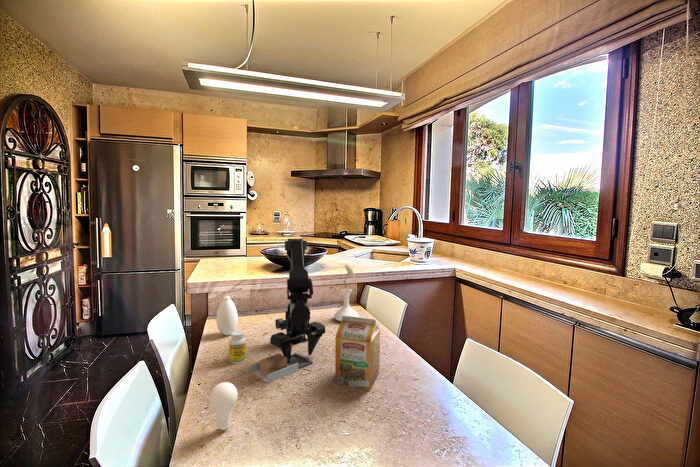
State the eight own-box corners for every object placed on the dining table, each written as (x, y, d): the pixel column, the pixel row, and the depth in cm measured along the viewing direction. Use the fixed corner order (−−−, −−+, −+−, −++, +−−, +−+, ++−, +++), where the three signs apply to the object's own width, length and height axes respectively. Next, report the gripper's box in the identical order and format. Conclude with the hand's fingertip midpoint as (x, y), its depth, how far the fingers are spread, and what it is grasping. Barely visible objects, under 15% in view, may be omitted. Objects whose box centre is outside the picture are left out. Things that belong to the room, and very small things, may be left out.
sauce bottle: (242, 332, 138) (241, 289, 136) (227, 339, 131) (226, 293, 129) (227, 329, 141) (226, 287, 140) (212, 336, 134) (211, 291, 133)
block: (278, 365, 110) (278, 353, 110) (287, 370, 107) (287, 357, 107) (259, 372, 105) (259, 360, 105) (267, 378, 102) (267, 365, 102)
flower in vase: (358, 324, 149) (359, 268, 147) (332, 324, 149) (333, 267, 147) (358, 314, 162) (359, 262, 160) (334, 314, 162) (334, 262, 160)
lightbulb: (214, 421, 82) (213, 377, 81) (240, 420, 82) (240, 376, 82) (206, 438, 76) (205, 391, 75) (234, 437, 76) (233, 390, 75)
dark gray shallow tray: (296, 355, 118) (296, 352, 118) (312, 364, 111) (312, 361, 111) (283, 360, 114) (283, 357, 114) (300, 369, 108) (300, 366, 108)
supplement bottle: (243, 355, 117) (243, 328, 116) (248, 361, 113) (248, 333, 112) (227, 359, 114) (227, 331, 113) (231, 366, 110) (231, 337, 109)
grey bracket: (281, 361, 114) (280, 353, 113) (298, 371, 107) (298, 363, 107) (251, 372, 106) (251, 364, 106) (267, 384, 99) (267, 375, 99)
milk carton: (379, 373, 106) (380, 313, 104) (370, 390, 96) (371, 325, 94) (347, 367, 109) (347, 310, 108) (335, 384, 100) (335, 320, 98)
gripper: (305, 302, 124) (305, 344, 125) (260, 313, 110) (261, 360, 112) (326, 309, 116) (326, 353, 117) (280, 322, 103) (280, 372, 104)
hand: (299, 359), depth 113 cm, fingers open, 9 cm apart
